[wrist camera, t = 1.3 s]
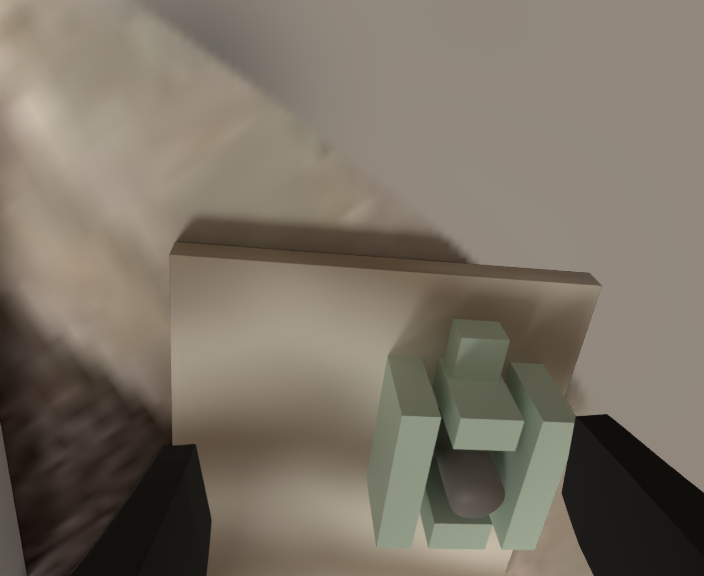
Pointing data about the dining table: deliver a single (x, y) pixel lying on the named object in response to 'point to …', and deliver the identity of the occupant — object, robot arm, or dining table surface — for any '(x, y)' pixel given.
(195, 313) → the board
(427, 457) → the green block stack
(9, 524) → the tray
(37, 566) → the dining table surface
